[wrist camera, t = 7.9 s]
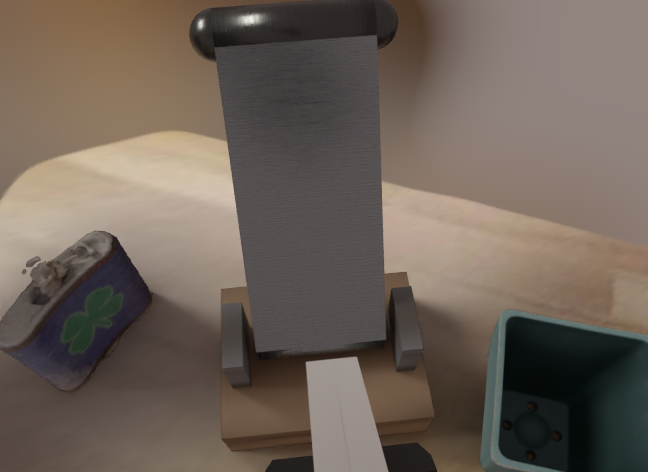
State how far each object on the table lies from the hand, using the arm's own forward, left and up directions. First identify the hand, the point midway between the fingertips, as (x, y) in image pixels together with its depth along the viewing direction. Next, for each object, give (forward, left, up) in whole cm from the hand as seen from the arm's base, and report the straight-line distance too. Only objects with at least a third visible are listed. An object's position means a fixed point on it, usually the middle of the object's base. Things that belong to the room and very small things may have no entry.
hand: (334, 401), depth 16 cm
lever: (-3, +7, -17) cm, 19 cm away
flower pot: (+11, +8, -22) cm, 26 cm away
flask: (-19, +4, -22) cm, 30 cm away
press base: (-3, +7, -22) cm, 24 cm away
